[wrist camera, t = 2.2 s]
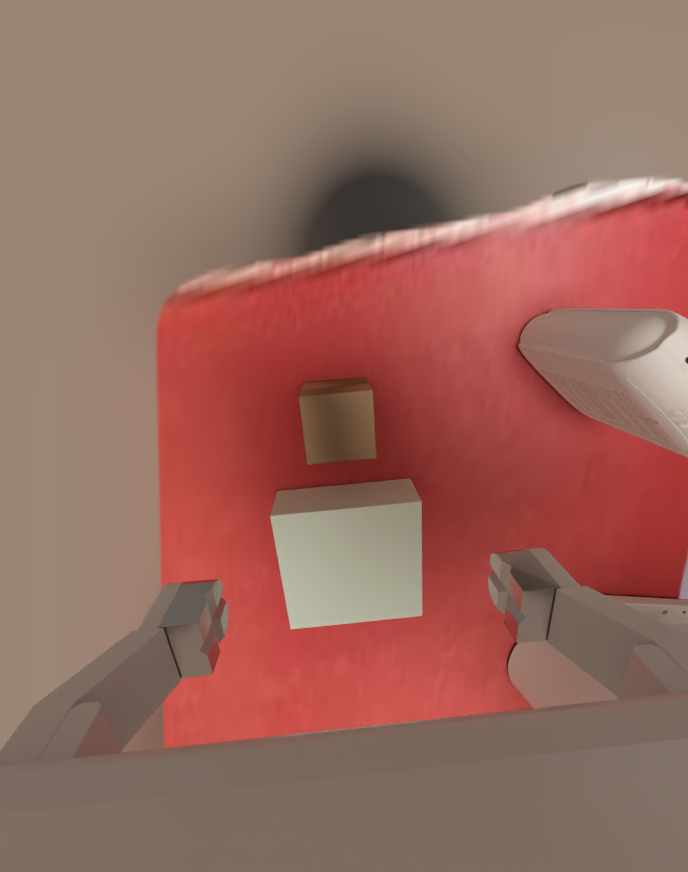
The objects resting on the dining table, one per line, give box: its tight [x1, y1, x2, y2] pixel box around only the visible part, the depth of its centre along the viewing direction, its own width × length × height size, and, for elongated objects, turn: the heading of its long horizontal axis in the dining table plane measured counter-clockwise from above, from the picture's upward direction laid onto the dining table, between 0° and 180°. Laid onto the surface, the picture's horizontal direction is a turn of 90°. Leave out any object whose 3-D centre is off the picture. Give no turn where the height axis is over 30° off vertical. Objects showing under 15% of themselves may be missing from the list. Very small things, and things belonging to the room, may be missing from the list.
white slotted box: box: [518, 308, 688, 458], centre depth 22 cm, size 10×4×12 cm, turn 51°
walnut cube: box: [299, 377, 376, 465], centre depth 26 cm, size 5×5×5 cm
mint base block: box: [270, 478, 422, 629], centre depth 31 cm, size 12×12×4 cm
